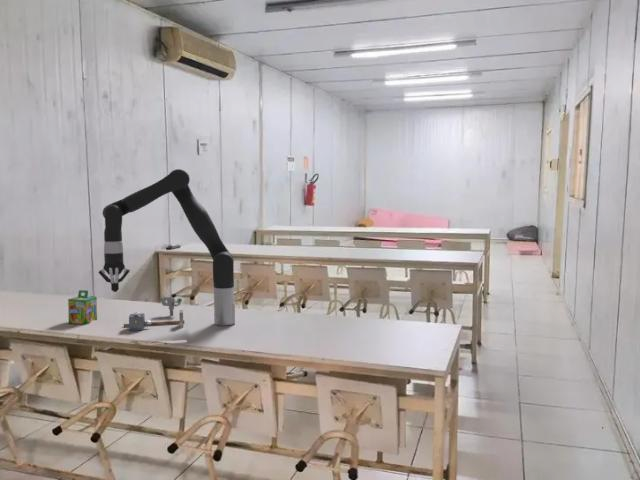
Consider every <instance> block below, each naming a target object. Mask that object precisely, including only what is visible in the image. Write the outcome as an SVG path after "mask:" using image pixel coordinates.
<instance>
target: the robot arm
mask: <svg viewBox="0 0 640 480" xmlns="http://www.w3.org/2000/svg"><path fill="white" fill-rule="evenodd" d="M190 180H191V179H190V174H189V173H188V172H187V171H186V170H185V169H181V168H177V169H173V170H172V171H171V172H169V173H168V174H167V175H166V176H164V177H163V178H162V179H160V180H158V181H156V182H154V183H153V184H151V185H149V186H146V187H144V188H142V189H139V190H137V191H135V192H133V193H131V194H129V195H128V196H125V197H123V198H121V199H119V200H117V201H114V202H112V203H110V204H108V205H105V207H104V208H103V209H102V217H103V218H104V227H105V228H104V229H103V230H104V232H103V233H104V234H103V237H104V239H103V241H104V243H103V255H104V258H103V259H104V265H103V266H102V267H103V268H102V269H101V270H98V274H99V275H100V277H102V279H103V280H105V282H106V283H110V287H111V288H110V290H111V291H112V292H113V293H117V292H118V291H119V290H120V288H119V287H120V286H119V285H120V284H119V283H120V282H123V281H124V280H125V278H126V277H127V275H129V273H130V271H131V270H130V269H128V268H127V267H126V266H125V262H124V246H123V232H122V227H123V226H122V224H123V216H125V215H127V214H129V213H134V212H136V211H138V210H139V209H143V207H146V206H148V205H149V204H151V203H152V202H154V201H156V200H158V199H159V198H160V197H162V196H165V195H166V194H169V193H172V194H173V196H174V197H175V199H176V200H177V201H178V203H179V204H180V207H181V209H182V211H183V213H184V214H185V217H186V218H187V220H188V222H189V225H190V226H191V228H192V229H193V231H194V233H195V234H196V236H197V237H198V238H199V240H200V241H202V243H203V244H204V245H205V247H206V248H207V250H208V252H209V254H210V256H211V258H212V282H213V314H214V315H213V320H214V321H213V323H214V325H216V326H224V327H225V326H231V325H235V324H236V305H235V277H234V276H235V275H234V274H235V271H234V268H235V267H234V263H235V260H234V256H233V255H232V254H231V252H230V251H229V250H228V248H227V247H226V245H225V244H224V243H223V241H222V239H221V238H220V235H219V233H218V231H217V228H216V226H215V224H214V223H213V220H212V218H211V216H210V215H209V213H208V212H207V210H206V209H205V207H204V206H203V205H202V204H201V203H200V201H198V200H197V198H196V196H195V195H194V194H193V192H192V190H191V188H190V186H189V184H190ZM122 272H123V274H122ZM106 273H107V274H108V275H109V277H108V275H107V274H106ZM121 274H122V276H121V277H120V275H121Z"/></svg>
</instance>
